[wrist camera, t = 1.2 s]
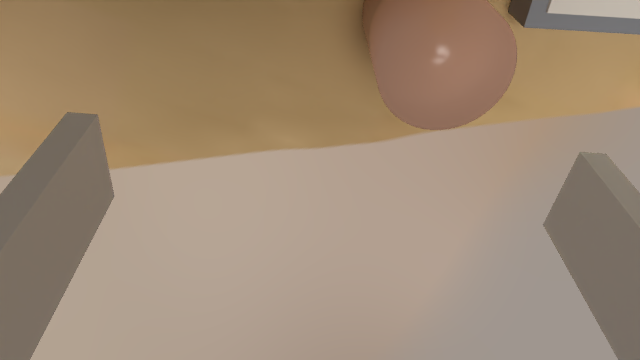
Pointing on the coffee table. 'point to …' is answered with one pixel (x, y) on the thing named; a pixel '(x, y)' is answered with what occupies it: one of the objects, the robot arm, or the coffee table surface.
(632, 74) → the coffee table surface
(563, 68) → the coffee table surface
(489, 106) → the pinkish brown rounded cylinder
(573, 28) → the podium
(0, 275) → the robot arm
